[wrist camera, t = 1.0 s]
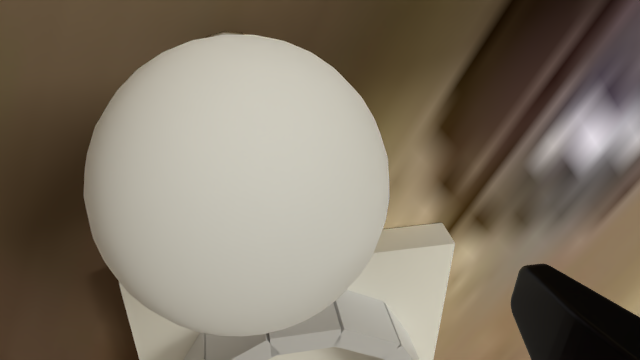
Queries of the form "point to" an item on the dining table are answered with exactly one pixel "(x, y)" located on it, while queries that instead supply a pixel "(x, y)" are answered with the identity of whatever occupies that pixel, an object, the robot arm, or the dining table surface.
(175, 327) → the socket base
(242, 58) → the light bulb
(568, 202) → the dining table surface
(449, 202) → the dining table surface
